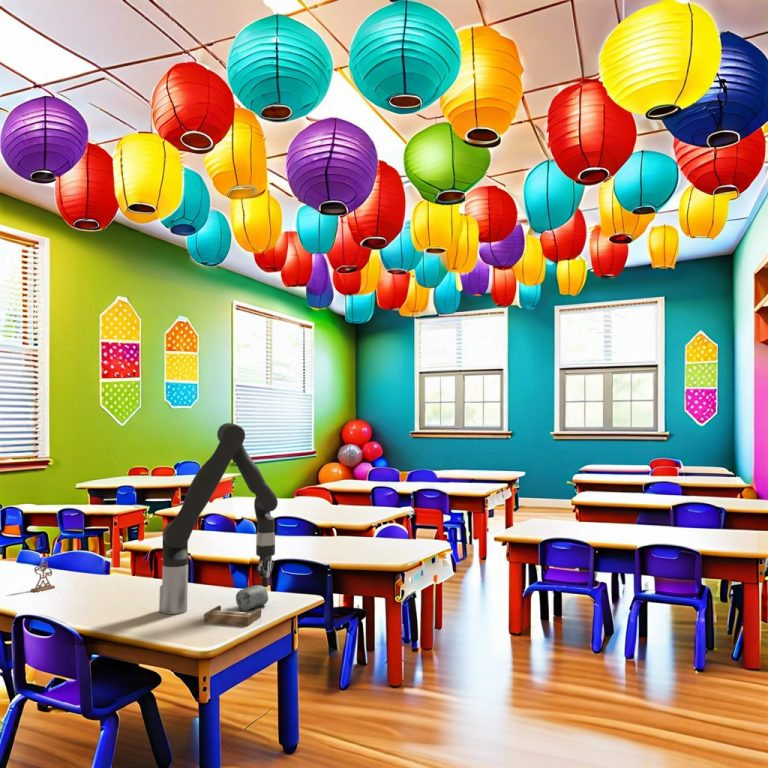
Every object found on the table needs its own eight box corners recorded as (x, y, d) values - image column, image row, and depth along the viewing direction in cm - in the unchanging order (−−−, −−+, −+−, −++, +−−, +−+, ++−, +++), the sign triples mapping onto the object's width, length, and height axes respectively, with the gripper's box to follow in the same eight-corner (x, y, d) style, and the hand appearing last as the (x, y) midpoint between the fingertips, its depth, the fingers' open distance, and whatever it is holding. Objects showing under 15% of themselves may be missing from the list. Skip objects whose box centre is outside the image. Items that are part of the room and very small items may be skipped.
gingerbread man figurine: (49, 587, 291) (50, 558, 292) (55, 588, 290) (56, 559, 290) (30, 591, 283) (31, 562, 284) (36, 592, 282) (37, 563, 282)
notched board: (203, 622, 242) (204, 611, 242) (218, 613, 253) (218, 603, 253) (248, 625, 238) (248, 615, 239) (261, 617, 249) (261, 607, 249)
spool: (247, 605, 252) (245, 579, 257) (231, 613, 257) (229, 587, 262) (275, 607, 262) (272, 582, 267) (259, 615, 266) (256, 590, 271)
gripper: (263, 540, 282) (263, 582, 281) (250, 545, 269) (249, 590, 268) (280, 540, 280) (280, 583, 279) (267, 546, 267) (267, 591, 266)
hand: (265, 586), depth 274 cm, fingers closed
